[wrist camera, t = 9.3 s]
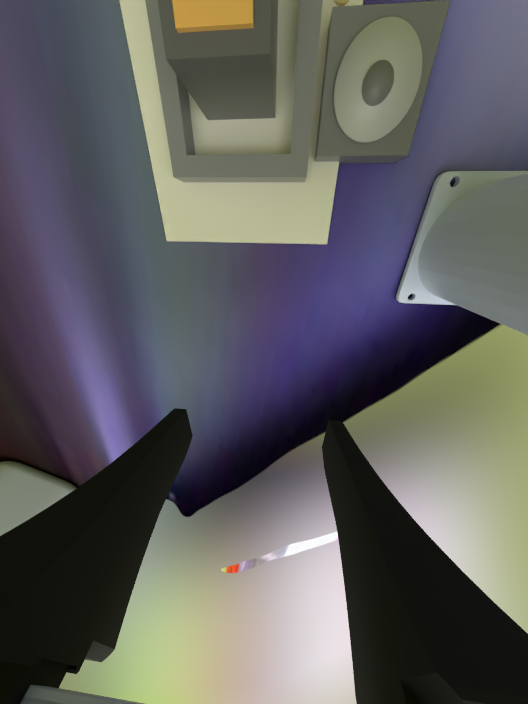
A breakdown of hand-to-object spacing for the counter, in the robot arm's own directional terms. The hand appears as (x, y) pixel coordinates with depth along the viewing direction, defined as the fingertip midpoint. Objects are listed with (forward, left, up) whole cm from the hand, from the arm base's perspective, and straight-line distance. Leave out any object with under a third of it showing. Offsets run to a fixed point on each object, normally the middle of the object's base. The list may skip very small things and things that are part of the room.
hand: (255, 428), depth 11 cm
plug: (+2, -16, -10) cm, 19 cm away
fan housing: (-5, -15, -10) cm, 19 cm away
